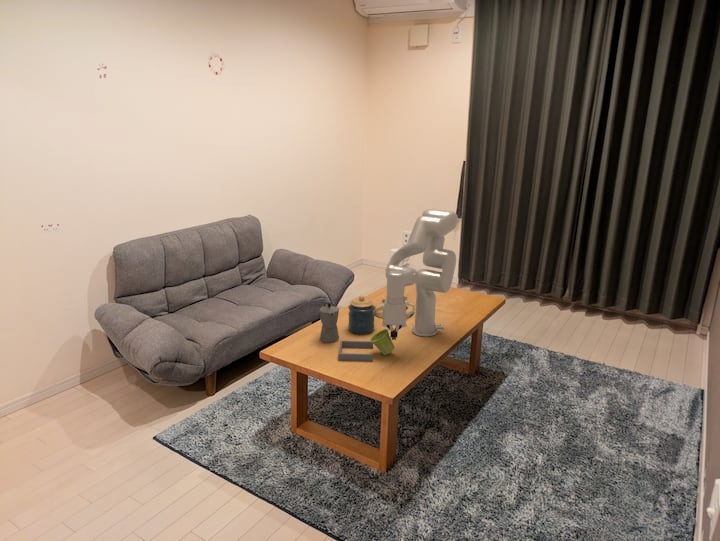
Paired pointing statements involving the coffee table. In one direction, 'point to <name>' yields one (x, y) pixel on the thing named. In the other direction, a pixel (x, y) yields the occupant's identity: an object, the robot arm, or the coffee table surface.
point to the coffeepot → (329, 323)
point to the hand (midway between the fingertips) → (393, 338)
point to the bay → (355, 356)
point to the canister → (361, 316)
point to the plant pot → (383, 342)
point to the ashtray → (379, 307)
